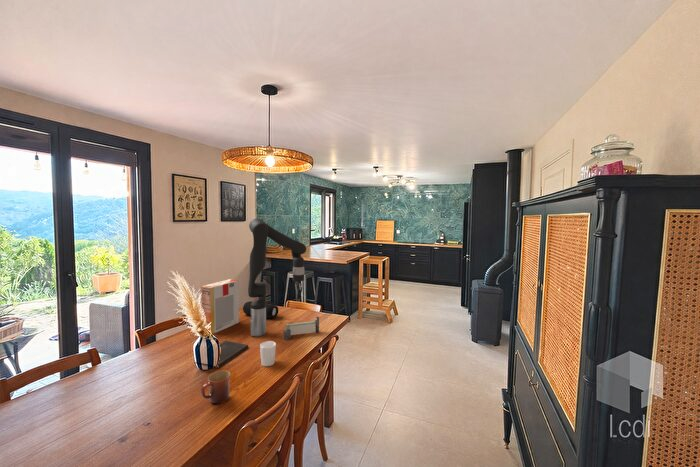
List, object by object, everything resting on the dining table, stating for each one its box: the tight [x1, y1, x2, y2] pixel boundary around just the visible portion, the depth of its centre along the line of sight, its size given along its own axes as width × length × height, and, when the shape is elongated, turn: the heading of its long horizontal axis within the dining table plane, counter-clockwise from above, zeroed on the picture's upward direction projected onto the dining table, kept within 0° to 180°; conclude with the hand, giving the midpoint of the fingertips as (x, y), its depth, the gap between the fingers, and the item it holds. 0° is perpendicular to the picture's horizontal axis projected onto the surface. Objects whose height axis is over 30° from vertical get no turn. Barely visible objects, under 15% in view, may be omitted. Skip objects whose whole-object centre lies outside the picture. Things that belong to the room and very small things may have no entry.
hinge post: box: [314, 316, 320, 334], centre depth 188 cm, size 2×2×10 cm
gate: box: [285, 320, 315, 336], centre depth 184 cm, size 18×2×7 cm, turn 111°
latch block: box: [282, 329, 292, 340], centre depth 178 cm, size 4×2×5 cm, turn 112°
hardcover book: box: [193, 340, 249, 369], centre depth 156 cm, size 16×23×2 cm
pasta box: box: [200, 278, 240, 335], centre depth 192 cm, size 23×8×30 cm, turn 156°
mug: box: [200, 369, 232, 404], centre depth 118 cm, size 12×9×10 cm
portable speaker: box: [242, 300, 279, 319], centre depth 215 cm, size 26×10×10 cm, turn 71°
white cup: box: [259, 340, 277, 367], centre depth 148 cm, size 8×8×10 cm
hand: (298, 299), depth 190 cm, fingers closed
